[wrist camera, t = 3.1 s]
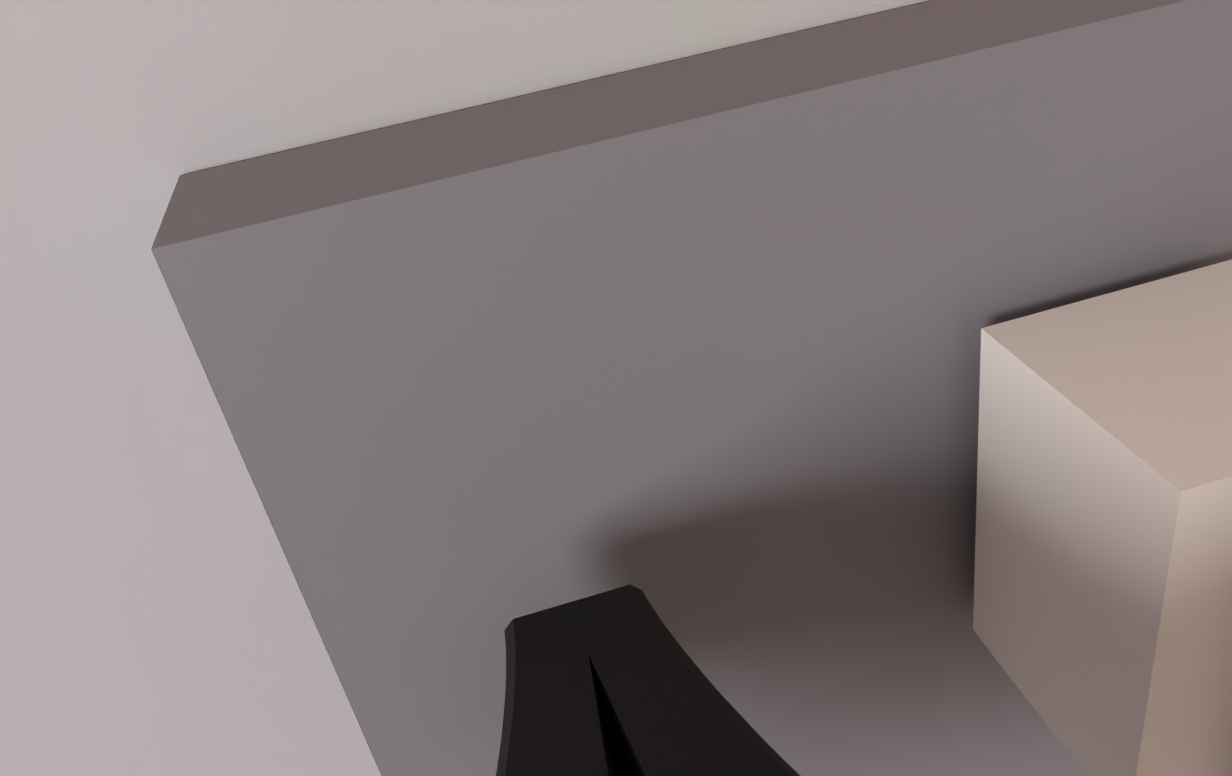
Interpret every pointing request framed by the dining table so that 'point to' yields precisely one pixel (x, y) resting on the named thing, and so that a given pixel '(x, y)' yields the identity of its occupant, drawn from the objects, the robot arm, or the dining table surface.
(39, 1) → the dining table surface
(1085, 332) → the fader knob
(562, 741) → the robot arm
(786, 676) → the console
